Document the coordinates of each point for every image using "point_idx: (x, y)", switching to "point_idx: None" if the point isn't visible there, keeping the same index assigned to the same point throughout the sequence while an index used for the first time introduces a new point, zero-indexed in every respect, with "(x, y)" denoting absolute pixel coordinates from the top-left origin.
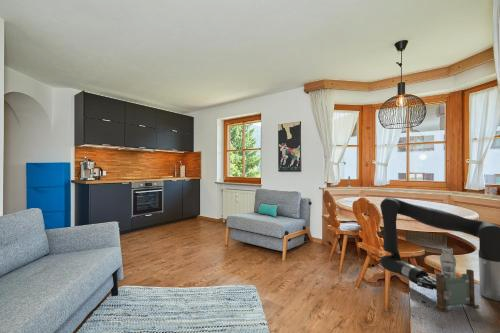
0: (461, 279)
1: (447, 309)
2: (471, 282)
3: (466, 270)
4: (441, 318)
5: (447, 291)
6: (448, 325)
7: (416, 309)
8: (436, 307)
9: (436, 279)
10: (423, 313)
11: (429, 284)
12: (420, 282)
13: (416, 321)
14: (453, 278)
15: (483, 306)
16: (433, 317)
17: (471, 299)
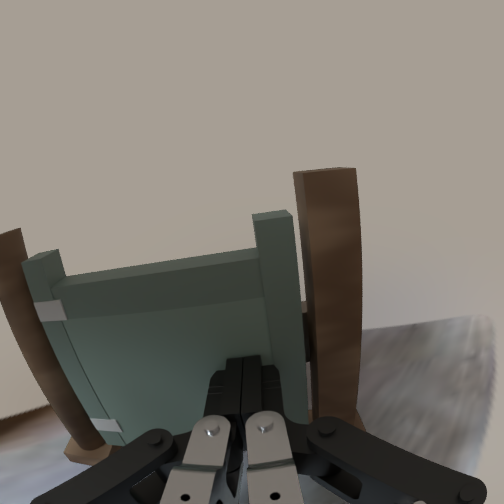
0: (106, 271)
1: (308, 410)
2: None
3: (5, 237)
4: (384, 370)
5: (301, 305)
6: (383, 338)
7: (477, 416)
8: (363, 426)
9: (359, 236)
10: (453, 390)
11: (357, 433)
12: (448, 478)
13: (489, 336)
14: (144, 273)
15: (61, 425)
16: (418, 371)
17: None
